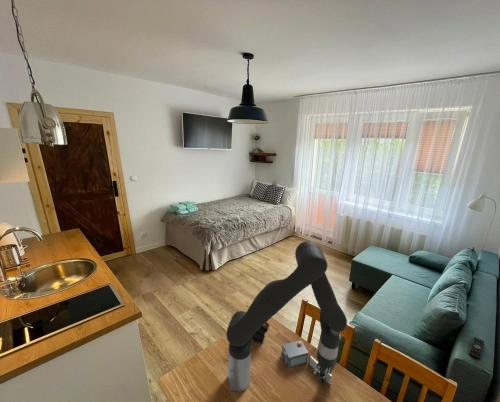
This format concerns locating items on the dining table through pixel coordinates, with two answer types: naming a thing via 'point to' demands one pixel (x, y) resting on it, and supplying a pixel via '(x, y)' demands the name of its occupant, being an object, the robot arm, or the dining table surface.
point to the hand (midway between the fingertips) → (322, 382)
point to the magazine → (260, 333)
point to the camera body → (294, 353)
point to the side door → (314, 365)
